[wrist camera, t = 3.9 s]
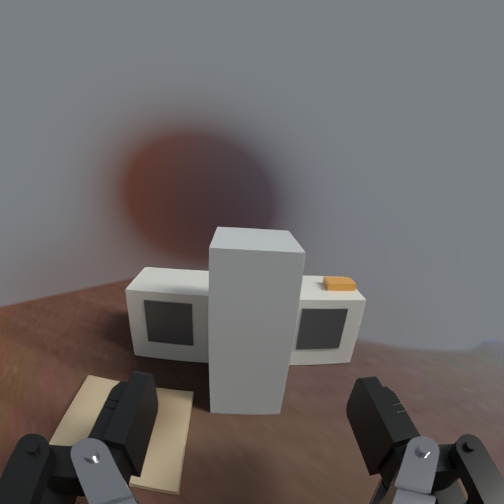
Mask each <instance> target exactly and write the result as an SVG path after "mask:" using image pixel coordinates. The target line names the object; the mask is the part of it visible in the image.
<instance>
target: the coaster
mask: <svg viewBox="0 0 504 504" xmlns="http://www.w3.org/2000/svg"><path fill="white" fill-rule="evenodd" d="M119 382H120V381H115V380H110V379H105V378H100V377H96V376H92V375H88V377H87V379H86V380H85V382H84V383H83V385H82V387H81V388H80V390H79V392H78V393H77V395H76V397H75V398H74V400H73V402H72V403H71V405H70V407H69V408H68V410H67V412H66V414H65V415H64V417H63V419H62V421H61V422H60V424H59V426H58V428H57V429H56V431H55V433H54V435H53V437H52V438H51V440H50V442H49V445H60V446H73V445H74V444H75V443H76V442H78V441H79V440H81V439H85V438H88V436H89V434H90V432H91V430H92V428H93V426H94V424H95V422H96V419H97V417H98V415H99V413H100V411H101V409H102V408H103V405H104V403H105V401H106V400H107V397H108V395H109V393H110V391H111V389H112V388H113V387H114V386H115V385H117V384H118V383H119ZM156 392H157V397H158V414H157V417H156V421H155V424H154V428H153V431H152V435H151V439H150V442H149V446H148V450H147V453H146V457H145V461H144V465H143V469H142V473H141V477H136V476H131V479H130V482H129V485H130V486H132V487H136V488H140V489H145V490H150V491H155V492H161V493H167V494H173V495H179V489H180V482H181V475H182V468H183V461H184V454H185V447H186V441H187V434H188V428H189V422H190V416H191V410H192V404H193V398H194V394H193V392H191V391H181V390H172V389H164V388H157V387H156Z"/></svg>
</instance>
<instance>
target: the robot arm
mask: <svg viewBox="0 0 504 504" xmlns="http://www.w3.org/2000/svg"><path fill="white" fill-rule="evenodd" d="M346 412H347V417H348V420H349V422H350V425H351V427H352V430H353V433H354V435H355V438H356V440H357V443H358V445H359V448H360V451H361V453H362V456H363V458H364V461H365V464H366V466H367V469H368V472H369V474H370V476H371V475H375V474H379V473H380V475H381V477H382V478H381V479H380V481H379V482H378V485H377V487H376V489H375V492H374V494H373V496H372V498H371V500H370V502H369V504H504V480H503V478H502V476H501V474H500V472H499V471H498V469H497V467H496V465H495V464H494V462H493V460H492V459H491V457H490V455H489V453H488V452H487V450H486V449H485V447H484V445H483V444H482V442H481V441H480V439H479V438H477V437H476V436H474V435H470V434H466V435H463V436H461V437H460V438H459V439H458V440H457V441H456V442H455V444H444V445H437V443H436V442H435V441H434V440H432V439H431V438H428V437H424V436H420V434H419V433H418V431H417V429H416V428H415V426H414V424H413V422H412V421H411V419H410V417H409V416H408V414H407V412H406V411H404V407H403V406H402V404H400V401H399V399H398V398H397V396H396V394H395V393H394V392H392V391H391V390H390V389H389V388H387V387H382V385H381V384H380V382H379V380H378V379H377V377H365V378H358V379H357V380H356V382H355V385H354V387H353V390H352V393H351V395H350V398H349V400H348V403H347V408H346ZM157 414H158V397H157V392H156V386H155V381H154V376H153V374H151V373H145V372H138V371H133V372H132V374H131V376H130V379H129V381H128V382H122V381H120V382H119V383H118V384H117V385H115V386H114V387H113V388H112V389H111V391H110V393H109V395H108V397H107V400H106V401H105V403H104V405H103V408H102V409H101V411H100V413H99V415H98V417H97V419H96V422H95V424H94V426H93V428H92V430H91V432H90V434H89V436H88V438H85V439H81V440H79V441H78V442H76V443H75V444H74V445H73V446H60V445H49V443H48V442H47V440H46V439H45V438H44V437H42V436H40V435H38V434H28V435H25V436H23V437H22V438H21V439H20V440H19V442H18V443H17V445H16V447H15V449H14V451H13V453H12V455H11V457H10V459H9V461H8V463H7V466H6V468H5V470H4V472H3V474H2V476H1V479H0V504H75V501H76V498H77V496H86V498H87V500H88V502H89V504H140V502H139V501H138V499H137V497H136V496H135V494H134V492H133V491H132V489H131V487H130V485H129V482H130V479H131V476H136V477H141V473H142V469H143V465H144V461H145V457H146V453H147V450H148V446H149V442H150V439H151V435H152V431H153V428H154V424H155V421H156V417H157ZM459 478H460V479H461V481H462V483H463V485H464V487H465V489H466V491H467V493H468V500H466V498H465V496H464V494H463V492H462V489H461V487H460V485H459V483H458V481H457V480H458V479H459Z"/></svg>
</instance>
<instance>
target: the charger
mask: <svg viewBox="0 0 504 504" xmlns="http://www.w3.org/2000/svg"><path fill="white" fill-rule="evenodd" d="M305 255H306V253H305V251H304V250H303V249H302V247H301V246H300V245H299V244H298V242H297V241H296V240H295V239H294V237H293V236H292V235H291V233H290V232H289V231H281V230H266V229H249V228H230V227H217V230H216V232H215V235H214V237H213V240H212V242H211V245H210V248H209V304H208V327H209V386H210V413H223V414H280V410H281V405H282V400H283V395H284V390H285V385H286V379H287V374H288V369H289V363H290V357H291V351H292V346H293V340H294V333H295V327H296V321H297V314H298V307H299V301H300V294H301V286H302V279H303V271H304V263H305Z"/></svg>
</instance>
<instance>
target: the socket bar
mask: <svg viewBox="0 0 504 504" xmlns="http://www.w3.org/2000/svg"><path fill="white" fill-rule="evenodd" d="M125 291H126V300H127V308H128V316H129V323H130V330H131V336H132V342H133V348H134V354H135V355H137V356H144V357H152V358H160V359H168V360H178V361H188V362H200V363H209V327H208V304H209V271H197V270H181V269H166V268H151V267H145V268H144V269H143V270H142V271H141V272H140V274H139V275H138V276H137V277H136V278H135V279H134V280H133V281H132V282H131V284H130V285H129V286H128V287H127V288H126V289H125ZM365 304H366V299H365V298H364V297H363V296H362V295H361V294H360V293H359V291H358V290H357V289H356V283H355V282H354V281H353V280H352V279H351V278H350V277H331V276H330V277H329V276H303V279H302V286H301V294H300V301H299V307H298V314H297V321H296V327H295V333H294V340H293V346H292V351H291V357H290V363H289V365H318V364H337V363H350V360H351V356H352V353H353V350H354V346H355V343H356V339H357V335H358V332H359V328H360V324H361V320H362V316H363V312H364V308H365Z"/></svg>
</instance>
